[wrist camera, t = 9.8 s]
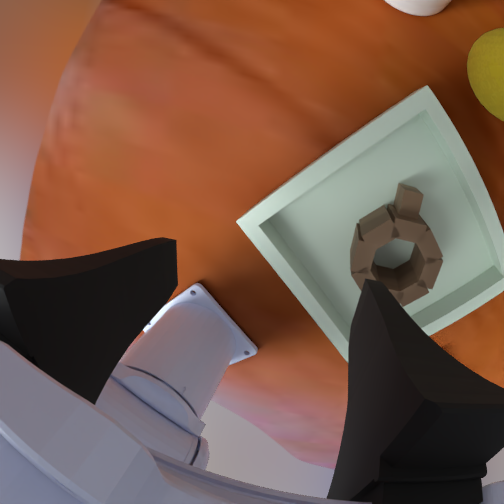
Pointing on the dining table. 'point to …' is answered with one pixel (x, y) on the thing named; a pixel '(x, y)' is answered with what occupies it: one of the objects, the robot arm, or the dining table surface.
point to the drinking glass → (419, 6)
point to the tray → (383, 193)
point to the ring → (387, 229)
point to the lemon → (488, 71)
